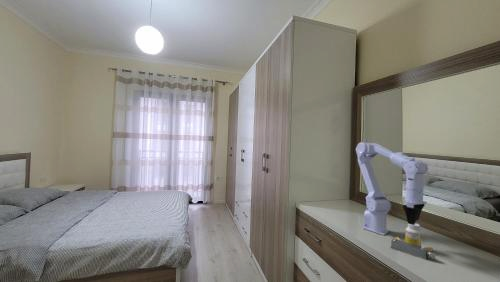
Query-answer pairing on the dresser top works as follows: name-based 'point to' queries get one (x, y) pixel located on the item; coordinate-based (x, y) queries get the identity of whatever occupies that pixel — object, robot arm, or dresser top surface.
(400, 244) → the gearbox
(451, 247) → the dresser top surface
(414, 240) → the supplement bottle
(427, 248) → the guard rails
